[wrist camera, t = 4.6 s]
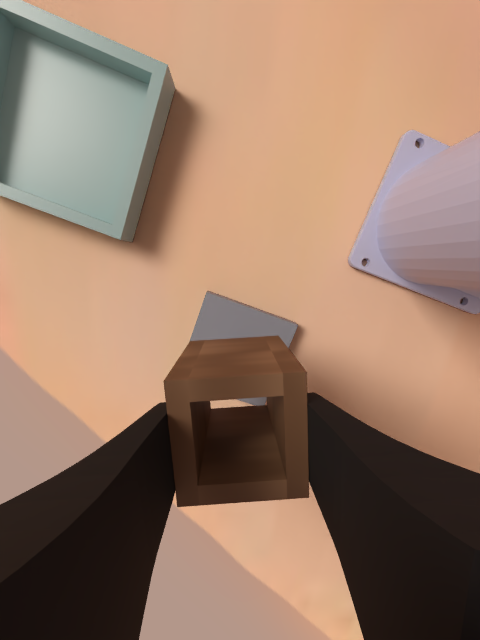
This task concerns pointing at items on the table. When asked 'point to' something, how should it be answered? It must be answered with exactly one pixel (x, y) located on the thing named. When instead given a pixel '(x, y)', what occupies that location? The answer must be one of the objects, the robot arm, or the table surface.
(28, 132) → the tray
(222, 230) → the table surface
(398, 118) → the table surface
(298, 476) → the walnut ring block
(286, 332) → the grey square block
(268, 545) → the table surface
